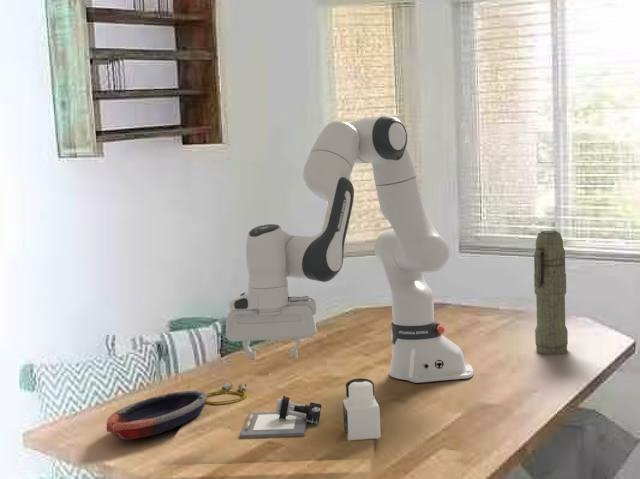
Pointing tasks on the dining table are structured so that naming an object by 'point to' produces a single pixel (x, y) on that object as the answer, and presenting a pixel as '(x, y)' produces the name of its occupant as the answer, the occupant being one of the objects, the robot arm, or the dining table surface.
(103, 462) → the dining table surface
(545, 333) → the thermos
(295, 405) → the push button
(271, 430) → the grey board
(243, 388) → the extension cord
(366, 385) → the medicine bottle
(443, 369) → the robot arm
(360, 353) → the dining table surface
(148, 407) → the dish
